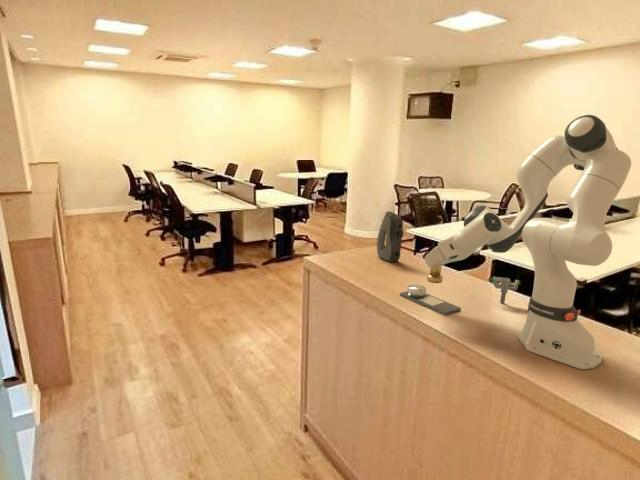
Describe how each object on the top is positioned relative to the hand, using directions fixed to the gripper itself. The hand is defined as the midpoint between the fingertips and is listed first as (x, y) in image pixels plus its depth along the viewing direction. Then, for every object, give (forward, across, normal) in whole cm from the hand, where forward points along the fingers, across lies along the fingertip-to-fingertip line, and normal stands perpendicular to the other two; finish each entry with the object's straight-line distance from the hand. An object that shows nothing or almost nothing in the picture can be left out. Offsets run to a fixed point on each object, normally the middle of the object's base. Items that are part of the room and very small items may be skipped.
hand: (434, 265), depth 155 cm
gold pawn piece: (+4, 0, +5) cm, 6 cm away
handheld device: (+46, -25, -25) cm, 59 cm away
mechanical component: (0, -25, +21) cm, 33 cm away
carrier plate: (+11, 0, +10) cm, 15 cm away
